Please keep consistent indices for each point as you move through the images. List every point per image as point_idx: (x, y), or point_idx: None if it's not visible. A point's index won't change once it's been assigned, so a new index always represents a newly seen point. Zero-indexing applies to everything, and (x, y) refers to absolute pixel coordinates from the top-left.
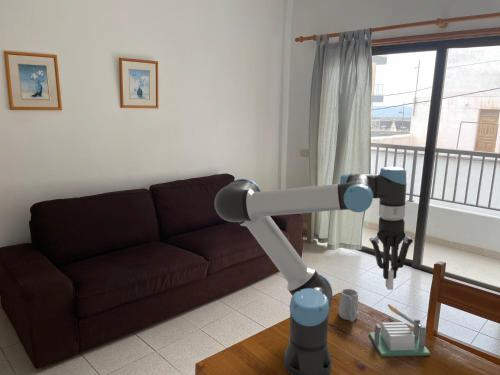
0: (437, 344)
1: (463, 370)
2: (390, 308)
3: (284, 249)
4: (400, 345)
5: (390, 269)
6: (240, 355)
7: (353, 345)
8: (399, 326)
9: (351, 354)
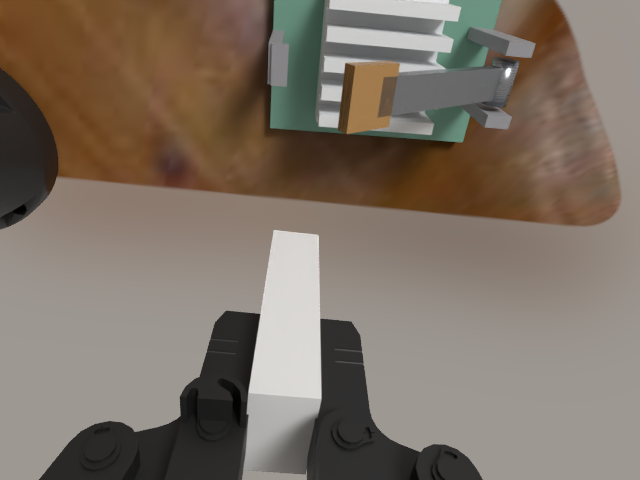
0: (544, 75)
1: (507, 219)
2: (342, 111)
3: None
4: None
5: (277, 451)
6: None
7: (171, 33)
8: (406, 48)
9: (149, 97)
